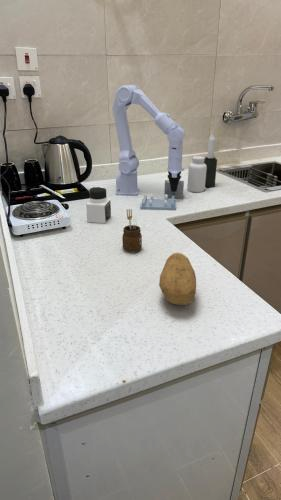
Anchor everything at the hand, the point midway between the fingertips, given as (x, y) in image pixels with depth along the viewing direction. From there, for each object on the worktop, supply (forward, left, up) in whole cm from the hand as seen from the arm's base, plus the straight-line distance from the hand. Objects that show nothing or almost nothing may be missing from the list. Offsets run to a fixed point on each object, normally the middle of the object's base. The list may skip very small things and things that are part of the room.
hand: (173, 189), depth 153 cm
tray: (-6, -11, -3) cm, 13 cm away
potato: (+2, -76, -4) cm, 76 cm away
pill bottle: (+10, +11, -4) cm, 15 cm away
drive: (0, 0, -2) cm, 2 cm away
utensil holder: (-12, -51, -4) cm, 52 cm away
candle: (+16, +18, -4) cm, 24 cm away
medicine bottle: (-27, -28, -4) cm, 39 cm away
